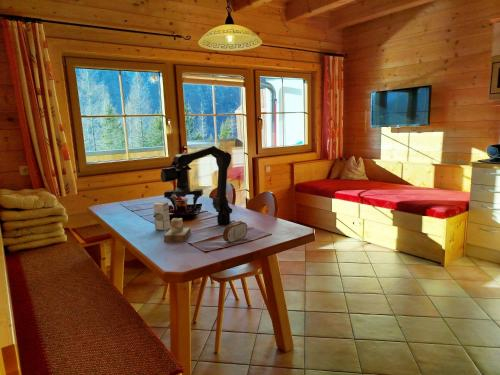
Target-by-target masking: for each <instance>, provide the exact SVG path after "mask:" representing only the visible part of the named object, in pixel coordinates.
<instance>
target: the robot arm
mask: <svg viewBox="0 0 500 375" xmlns="http://www.w3.org/2000/svg"><path fill="white" fill-rule="evenodd" d="M210 155H211V156H212V157H213V158H215V163H216V166H217V168H218V171H217V189H216V195H215V196H214V197H212V202H211V203H212V204H211V205H212V208H214V209H215V211H216V212H217V216H216V222H217V225H218V226H227V225H229V224H232V221H231V214H232V213H233V209H232V207H230V205H229V199H228V197H227V181H228V168H229V167H230V164H231V161H232V154H230V152H227V151H224V150H223V149H220V148H218V147H216V146H215V145H208V146H206V147H203V148H200V149H197V150H194V151H192V152H188V153H177V154H175V155H174V156H173V159H172V162H171V163H170V166H169V167H163V168H161V172H160V176H159V177H160V180H161V182H162V183H170V182H174V181H176V186H175V190H174V189H167V190H165V192H163V198H164V199H167V200H169V201H170V202H171V203H172V206H173V208H174V210H175V211H177V210H178V207H177V206H178V205H177V198H185V197H186V196H191V195H192V196H193V197H192V200H193V201H192V202H193V204H192V205H193V208H192V209H193V210H196V205H197V203H198V202H197V201H198V200H199V198H200V197H202V196H203V195H204V190H203V188H195V189H193V190H191V189H190V181H189V172H188V171H190V170H192V168H191V167H190V166H189V165H190V164H191V163H192V162H194V161H195V160H199V159H201V158H204V157H207V156H210Z"/></svg>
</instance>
